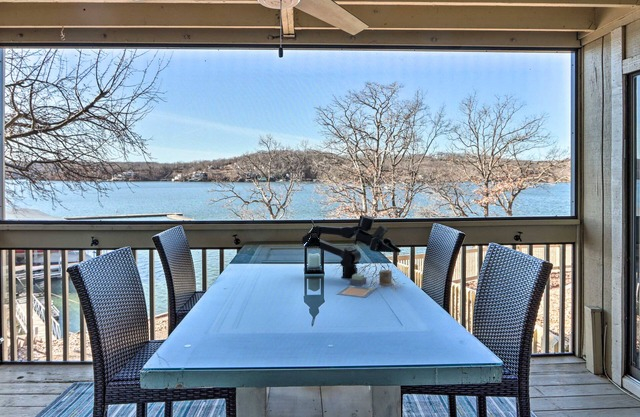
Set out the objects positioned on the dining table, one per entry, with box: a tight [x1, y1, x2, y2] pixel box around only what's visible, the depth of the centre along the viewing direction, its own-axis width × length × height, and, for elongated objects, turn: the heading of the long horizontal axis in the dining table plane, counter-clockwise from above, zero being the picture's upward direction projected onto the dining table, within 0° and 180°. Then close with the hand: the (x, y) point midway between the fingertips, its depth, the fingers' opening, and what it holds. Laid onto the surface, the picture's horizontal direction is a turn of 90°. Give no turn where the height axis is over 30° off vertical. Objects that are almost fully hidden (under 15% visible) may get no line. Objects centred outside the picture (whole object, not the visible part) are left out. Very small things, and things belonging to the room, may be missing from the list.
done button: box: [352, 273, 365, 280], centre depth 195 cm, size 4×4×2 cm
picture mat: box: [336, 285, 377, 299], centre depth 182 cm, size 13×15×1 cm
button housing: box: [349, 276, 367, 287], centre depth 195 cm, size 6×6×2 cm
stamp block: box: [378, 269, 393, 286], centre depth 194 cm, size 4×4×6 cm
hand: (397, 251), depth 193 cm, fingers open, 9 cm apart
